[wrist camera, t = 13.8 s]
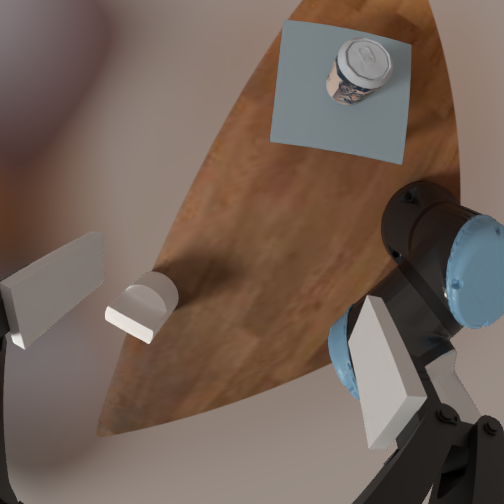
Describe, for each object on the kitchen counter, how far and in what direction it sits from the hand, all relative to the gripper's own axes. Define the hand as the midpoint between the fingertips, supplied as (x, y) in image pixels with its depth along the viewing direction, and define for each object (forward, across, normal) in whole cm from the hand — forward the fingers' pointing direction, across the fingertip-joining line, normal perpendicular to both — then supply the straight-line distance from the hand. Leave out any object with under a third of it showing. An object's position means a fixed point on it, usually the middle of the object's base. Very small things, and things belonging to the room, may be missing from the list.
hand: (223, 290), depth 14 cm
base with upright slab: (+36, +17, +24) cm, 46 cm away
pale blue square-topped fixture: (+36, -6, -16) cm, 39 cm away
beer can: (+24, -6, -16) cm, 29 cm away
